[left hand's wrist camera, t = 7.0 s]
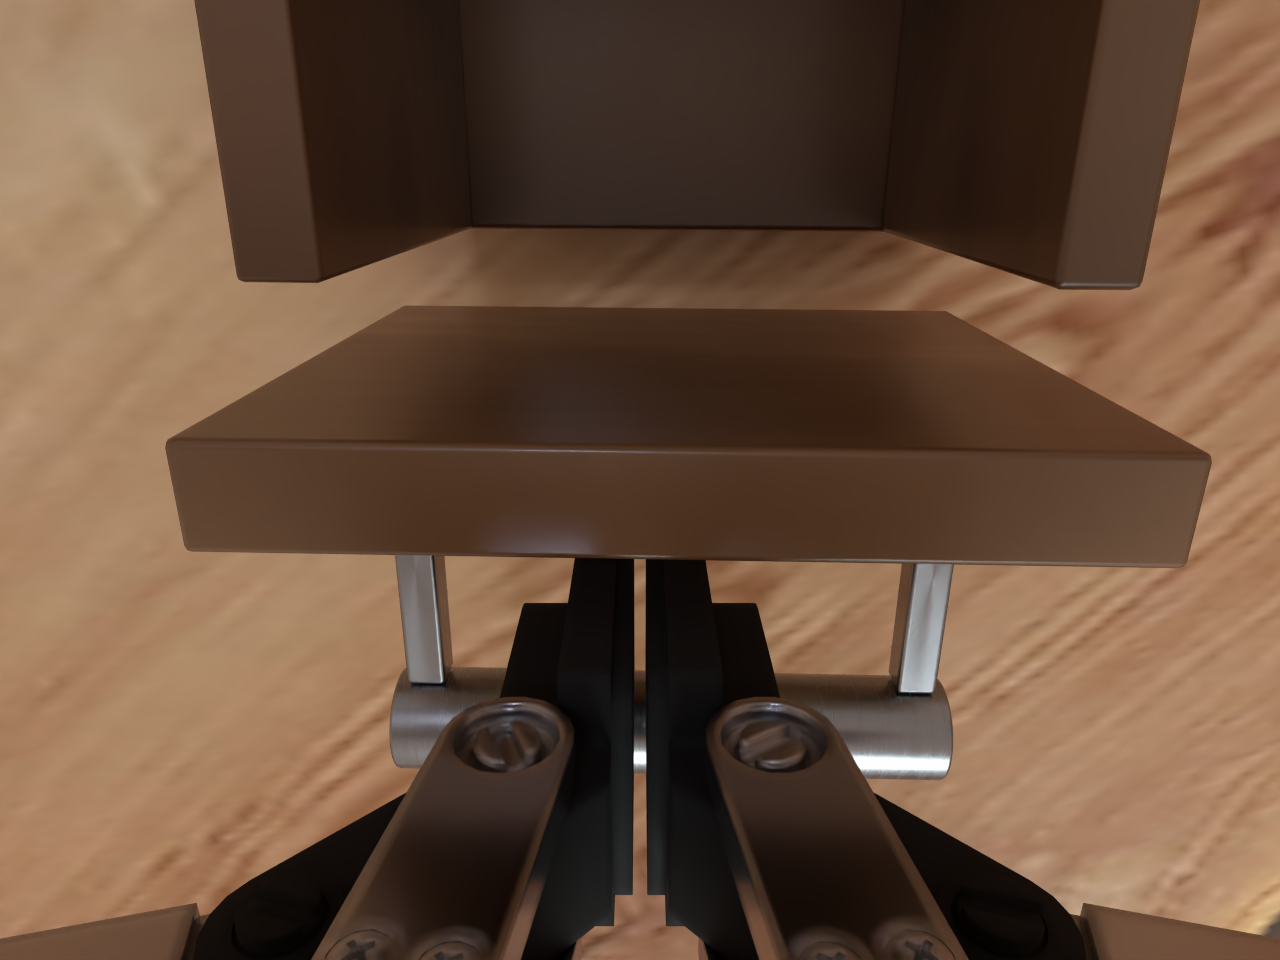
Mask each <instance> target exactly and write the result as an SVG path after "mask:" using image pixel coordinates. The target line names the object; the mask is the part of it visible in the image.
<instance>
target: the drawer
mask: <svg viewBox="0 0 1280 960" xmlns="http://www.w3.org/2000/svg"><path fill="white" fill-rule="evenodd" d="M1199 3H1200V0H195V6H196V13H197V19H198V26H199V32H200V39H201V45H202V52H203V58H204V65H205V71H206V78H207V84H208V91H209V97H210V104H211V110H212V117H213V123H214V130H215V136H216V143H217V149H218V156H219V162H220V169H221V175H222V182H223V188H224V195H225V201H226V208H227V214H228V221H229V227H230V234H231V240H232V247H233V253H234V260H235V266H236V273H237V277H238V279H239V280H241V281H243V282H293V283H319V282H322V281H324V280H327V279H330V278H333V277H335V276H338V275H341V274H344V273H347V272H349V271H352V270H355V269H358V268H361V267H363V266H366V265H369V264H372V263H375V262H377V261H380V260H383V259H386V258H389V257H391V256H394V255H397V254H400V253H403V252H405V251H408V250H411V249H414V248H417V247H419V246H422V245H425V244H428V243H430V242H433V241H436V240H439V239H442V238H444V237H447V236H450V235H453V234H456V233H458V232H461V231H464V230H467V229H469V228H506V229H631V230H755V231H879V232H888V233H891V234H894V235H897V236H900V237H903V238H906V239H909V240H912V241H915V242H918V243H921V244H924V245H927V246H930V247H933V248H936V249H939V250H942V251H945V252H948V253H951V254H954V255H957V256H960V257H963V258H966V259H970V260H973V261H976V262H979V263H982V264H985V265H988V266H991V267H994V268H997V269H1000V270H1003V271H1006V272H1009V273H1012V274H1015V275H1018V276H1021V277H1024V278H1027V279H1030V280H1033V281H1036V282H1039V283H1042V284H1045V285H1048V286H1051V287H1054V288H1057V289H1072V290H1131V289H1134V288H1137V287H1139V286H1140V285H1141V283H1142V281H1143V276H1144V271H1145V266H1146V261H1147V256H1148V252H1149V247H1150V242H1151V237H1152V232H1153V227H1154V222H1155V217H1156V213H1157V208H1158V203H1159V198H1160V193H1161V188H1162V183H1163V178H1164V174H1165V169H1166V164H1167V159H1168V154H1169V149H1170V144H1171V139H1172V135H1173V130H1174V125H1175V120H1176V115H1177V110H1178V105H1179V100H1180V96H1181V91H1182V86H1183V81H1184V76H1185V71H1186V66H1187V61H1188V57H1189V52H1190V47H1191V42H1192V37H1193V32H1194V27H1195V23H1196V18H1197V13H1198V8H1199ZM165 449H166V454H167V459H168V464H169V469H170V474H171V479H172V484H173V489H174V495H175V500H176V505H177V510H178V515H179V520H180V525H181V530H182V535H183V541H184V545H185V547H186V549H187V550H189V551H196V552H255V553H314V554H374V555H395V560H396V570H397V580H398V589H399V599H400V609H401V618H402V628H403V638H404V648H405V657H406V668H405V669H404V670H403V671H402V673H401V675H400V677H399V679H398V682H397V685H396V688H395V691H394V695H393V700H392V706H391V714H390V748H391V753H392V758H393V761H394V763H395V764H396V766H398V767H399V768H417V769H420V768H421V767H422V765H423V763H424V761H425V760H426V758H427V756H428V754H429V753H430V751H431V749H432V747H433V746H434V744H435V742H436V740H437V739H438V737H439V735H440V733H441V732H442V730H443V729H444V728H445V727H446V725H447V724H448V723H449V722H450V721H451V719H452V718H453V717H455V716H456V715H458V714H459V713H461V712H462V711H464V710H465V709H467V708H469V707H471V706H474V705H476V704H479V703H481V702H484V701H487V700H492V699H497V698H500V695H501V691H502V687H503V683H504V679H505V675H506V671H507V668H483V667H452V664H453V658H452V645H451V633H450V621H449V608H448V596H447V583H446V571H445V559H444V556H492V557H552V558H611V559H670V560H730V561H789V562H848V563H902V568H901V576H900V585H899V593H898V601H897V609H896V617H895V625H894V633H893V641H892V649H891V657H890V665H889V674H890V676H887V675H836V674H786V673H774V675H775V679H776V683H777V687H778V691H779V695H780V698H783V699H788V700H793V701H796V702H799V703H801V704H804V705H806V706H809V707H811V708H813V709H815V710H816V711H818V712H819V713H821V714H822V715H824V716H825V717H827V718H828V719H829V721H830V722H831V723H832V724H833V725H834V727H835V728H836V729H837V730H838V732H839V733H840V735H841V737H842V739H843V740H844V742H845V744H846V746H847V747H848V749H849V751H850V753H851V754H852V756H853V758H854V760H855V761H856V763H857V765H858V767H859V768H860V770H861V772H862V774H863V775H864V777H865V779H904V780H941V779H943V778H945V777H946V775H947V773H948V771H949V768H950V765H951V760H952V752H953V726H952V717H951V711H950V706H949V702H948V699H947V695H946V693H945V690H944V688H943V686H942V684H941V682H940V681H939V680H938V679H937V675H938V669H939V662H940V655H941V648H942V641H943V634H944V628H945V621H946V614H947V607H948V600H949V594H950V587H951V580H952V573H953V566H954V564H967V565H1026V566H1086V567H1145V568H1180V567H1184V565H1185V564H1186V562H1187V559H1188V555H1189V551H1190V547H1191V543H1192V539H1193V535H1194V531H1195V527H1196V523H1197V519H1198V515H1199V511H1200V507H1201V503H1202V499H1203V495H1204V491H1205V487H1206V483H1207V479H1208V475H1209V471H1210V467H1211V463H1212V462H1211V456H1210V455H1209V454H1208V453H1207V452H1205V451H1203V450H1201V449H1199V448H1197V447H1195V446H1194V445H1192V444H1190V443H1188V442H1186V441H1184V440H1183V439H1181V438H1179V437H1177V436H1175V435H1173V434H1171V433H1170V432H1168V431H1166V430H1164V429H1162V428H1160V427H1159V426H1157V425H1155V424H1153V423H1151V422H1149V421H1147V420H1146V419H1144V418H1142V417H1140V416H1138V415H1136V414H1135V413H1133V412H1131V411H1129V410H1127V409H1125V408H1124V407H1122V406H1120V405H1118V404H1116V403H1114V402H1112V401H1111V400H1109V399H1107V398H1105V397H1103V396H1101V395H1100V394H1098V393H1096V392H1094V391H1092V390H1090V389H1088V388H1087V387H1085V386H1083V385H1081V384H1079V383H1077V382H1076V381H1074V380H1072V379H1070V378H1068V377H1066V376H1064V375H1063V374H1061V373H1059V372H1057V371H1055V370H1053V369H1052V368H1050V367H1048V366H1046V365H1044V364H1042V363H1041V362H1039V361H1037V360H1035V359H1033V358H1031V357H1029V356H1028V355H1026V354H1024V353H1022V352H1020V351H1018V350H1017V349H1015V348H1013V347H1011V346H1009V345H1007V344H1005V343H1004V342H1002V341H1000V340H998V339H996V338H994V337H993V336H991V335H989V334H987V333H985V332H983V331H982V330H980V329H978V328H976V327H974V326H972V325H970V324H969V323H967V322H965V321H963V320H961V319H959V318H958V317H956V316H954V315H952V314H950V313H948V312H946V311H873V310H774V309H676V308H577V307H479V306H404V307H401V308H400V309H398V310H396V311H394V312H393V313H391V314H389V315H387V316H385V317H384V318H382V319H380V320H378V321H377V322H375V323H373V324H371V325H370V326H368V327H366V328H364V329H362V330H361V331H359V332H357V333H355V334H354V335H352V336H350V337H348V338H347V339H345V340H343V341H341V342H339V343H338V344H336V345H334V346H332V347H331V348H329V349H327V350H325V351H324V352H322V353H320V354H318V355H316V356H315V357H313V358H311V359H309V360H308V361H306V362H304V363H302V364H301V365H299V366H297V367H295V368H293V369H292V370H290V371H288V372H286V373H285V374H283V375H281V376H279V377H278V378H276V379H274V380H272V381H270V382H269V383H267V384H265V385H263V386H262V387H260V388H258V389H256V390H255V391H253V392H251V393H249V394H248V395H246V396H244V397H242V398H240V399H239V400H237V401H235V402H233V403H232V404H230V405H228V406H226V407H225V408H223V409H221V410H219V411H217V412H216V413H214V414H212V415H210V416H209V417H207V418H205V419H203V420H202V421H200V422H198V423H196V424H194V425H193V426H191V427H189V428H187V429H186V430H184V431H182V432H180V433H179V434H177V435H175V436H173V437H171V438H170V439H168V440H167V442H166V448H165ZM634 773H639V774H646V671H634Z"/></svg>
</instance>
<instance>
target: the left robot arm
mask: <svg viewBox="0 0 1280 960" xmlns="http://www.w3.org/2000/svg"><path fill="white" fill-rule="evenodd" d="M633 800H634V559H611V558H575V561H574V568H573V574H572V581H571V587H570V594H569V600H568V603H525V604H524V605H523V608H522V611H521V615H520V619H519V623H518V627H517V631H516V635H515V639H514V643H513V647H512V651H511V655H510V659H509V663H508V667H507V671H506V675H505V679H504V683H503V687H502V691H501V695H500V698H497V699H492V700H487V701H484V702H481V703H479V704H476V705H474V706H471V707H469V708H467V709H465V710H464V711H462V712H461V713H459V714H458V715H456V716H455V717H453V718H452V719H451V721H450V722H449V723H448V724H447V725H446V727H445V728H444V729H443V730H442V732H441V733H440V735H439V737H438V739H437V740H436V742H435V744H434V746H433V747H432V749H431V751H430V753H429V754H428V756H427V758H426V760H425V761H424V763H423V765H422V767H421V768H420V770H419V772H418V774H417V775H416V777H415V779H414V781H413V782H412V784H411V786H410V788H409V789H408V791H407V792H406V793H405V794H403V795H401V796H399V797H398V798H396V799H394V800H392V801H390V802H389V803H387V804H385V805H383V806H382V807H380V808H378V809H376V810H374V811H373V812H371V813H369V814H367V815H366V816H364V817H362V818H360V819H358V820H357V821H355V822H353V823H351V824H350V825H348V826H346V827H344V828H342V829H341V830H339V831H337V832H335V833H333V834H332V835H330V836H328V837H326V838H325V839H323V840H321V841H319V842H317V843H316V844H314V845H312V846H310V847H309V848H307V849H305V850H303V851H301V852H300V853H298V854H296V855H294V856H293V857H291V858H289V859H287V860H285V861H284V862H282V863H280V864H278V865H277V866H275V867H273V868H271V869H269V870H268V871H266V872H264V873H262V874H260V875H259V876H257V877H255V878H253V879H252V880H250V881H248V882H247V883H245V884H244V885H243V886H241V887H240V888H238V889H237V890H235V891H234V892H232V893H231V894H230V895H228V896H227V897H226V898H225V899H224V900H223V901H222V902H221V903H220V904H219V905H218V906H217V907H216V908H215V910H214V911H213V912H212V913H211V914H208V915H202V916H200V915H199V911H198V907H197V903H194V904H188V905H183V906H177V907H172V908H166V909H161V910H155V911H150V912H144V913H139V914H133V915H128V916H122V917H117V918H111V919H106V920H100V921H95V922H89V923H84V924H79V925H73V926H68V927H62V928H57V929H51V930H46V931H40V932H35V933H29V934H24V935H18V936H13V937H7V938H2V939H0V960H581V953H582V944H581V937H582V936H583V935H585V934H586V933H587V932H588V931H590V930H591V929H592V928H593V927H595V926H614V906H615V895H633ZM646 801H647V895H665V906H666V926H685V927H687V928H688V929H689V930H690V931H692V932H693V933H694V934H695V935H697V936H698V937H699V944H698V953H699V960H1280V939H1278V938H1272V937H1267V936H1262V935H1256V934H1251V933H1245V932H1240V931H1234V930H1229V929H1223V928H1218V927H1212V926H1207V925H1201V924H1196V923H1191V922H1185V921H1180V920H1174V919H1169V918H1163V917H1158V916H1152V915H1147V914H1141V913H1136V912H1130V911H1125V910H1119V909H1114V908H1108V907H1103V906H1097V905H1092V904H1086V903H1083V907H1082V911H1081V915H1080V916H1078V915H1072V914H1069V913H1068V912H1067V911H1066V910H1065V908H1064V907H1063V906H1062V905H1061V904H1060V903H1059V902H1058V901H1057V900H1056V899H1055V898H1054V897H1053V896H1052V895H1050V894H1049V893H1048V892H1046V891H1045V890H1043V889H1042V888H1040V887H1039V886H1037V885H1036V884H1035V883H1033V882H1032V881H1030V880H1028V879H1027V878H1025V877H1023V876H1021V875H1020V874H1018V873H1016V872H1014V871H1012V870H1011V869H1009V868H1007V867H1005V866H1003V865H1002V864H1000V863H998V862H996V861H995V860H993V859H991V858H989V857H987V856H986V855H984V854H982V853H980V852H979V851H977V850H975V849H973V848H971V847H970V846H968V845H966V844H964V843H963V842H961V841H959V840H957V839H955V838H954V837H952V836H950V835H948V834H947V833H945V832H943V831H941V830H939V829H938V828H936V827H934V826H932V825H930V824H929V823H927V822H925V821H923V820H922V819H920V818H918V817H916V816H914V815H913V814H911V813H909V812H907V811H906V810H904V809H902V808H900V807H898V806H897V805H895V804H893V803H891V802H890V801H888V800H886V799H884V798H882V797H881V796H879V795H877V794H875V793H873V791H872V789H871V788H870V786H869V784H868V782H867V781H866V779H865V777H864V775H863V774H862V772H861V770H860V768H859V767H858V765H857V763H856V761H855V760H854V758H853V756H852V754H851V753H850V751H849V749H848V747H847V746H846V744H845V742H844V740H843V739H842V737H841V735H840V733H839V732H838V730H837V729H836V728H835V727H834V725H833V724H832V723H831V722H830V721H829V719H828V718H827V717H825V716H824V715H822V714H821V713H819V712H818V711H816V710H815V709H813V708H811V707H809V706H806V705H804V704H801V703H799V702H796V701H793V700H788V699H783V698H780V695H779V691H778V687H777V683H776V679H775V675H774V671H773V667H772V663H771V659H770V655H769V651H768V647H767V643H766V639H765V635H764V631H763V627H762V623H761V619H760V615H759V611H758V608H757V605H756V604H755V603H712V600H711V594H710V587H709V581H708V574H707V568H706V561H705V560H670V559H646Z"/></svg>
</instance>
